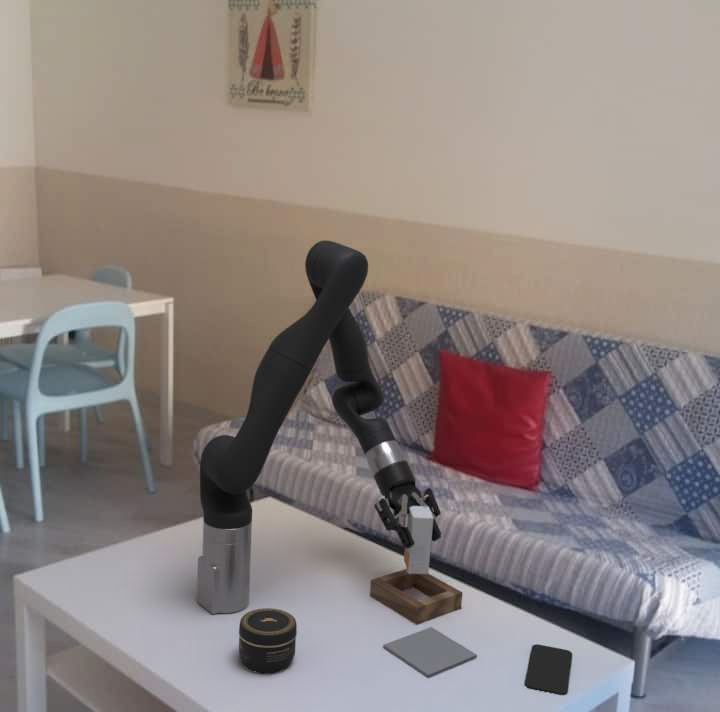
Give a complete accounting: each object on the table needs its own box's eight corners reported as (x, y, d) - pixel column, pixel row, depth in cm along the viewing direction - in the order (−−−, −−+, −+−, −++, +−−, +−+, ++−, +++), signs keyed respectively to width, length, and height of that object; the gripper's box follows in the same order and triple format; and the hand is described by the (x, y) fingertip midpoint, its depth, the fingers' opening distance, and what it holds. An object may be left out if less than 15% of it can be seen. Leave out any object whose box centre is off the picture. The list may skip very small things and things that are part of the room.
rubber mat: (428, 677, 167) (428, 674, 166) (383, 647, 176) (383, 644, 175) (476, 657, 174) (477, 654, 174) (431, 629, 183) (431, 626, 183)
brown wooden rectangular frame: (416, 624, 185) (417, 607, 184) (369, 595, 195) (370, 579, 194) (461, 608, 192) (462, 592, 191) (413, 581, 203) (414, 566, 202)
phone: (523, 685, 165) (532, 643, 180) (523, 689, 166) (531, 647, 180) (567, 694, 164) (572, 650, 178) (566, 698, 164) (572, 654, 178)
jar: (228, 653, 171) (230, 613, 169) (279, 641, 176) (281, 602, 174) (252, 681, 162) (254, 640, 161) (305, 668, 167) (307, 627, 166)
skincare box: (403, 560, 195) (408, 505, 192) (423, 561, 195) (429, 506, 193) (407, 574, 189) (412, 516, 186) (428, 574, 189) (434, 517, 187)
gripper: (372, 465, 189) (407, 542, 183) (425, 454, 198) (460, 528, 192) (353, 482, 194) (386, 558, 188) (406, 471, 203) (439, 543, 197)
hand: (424, 542), depth 190 cm, fingers closed on skincare box, 6 cm apart
